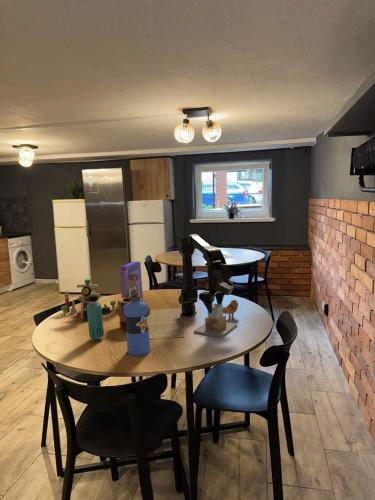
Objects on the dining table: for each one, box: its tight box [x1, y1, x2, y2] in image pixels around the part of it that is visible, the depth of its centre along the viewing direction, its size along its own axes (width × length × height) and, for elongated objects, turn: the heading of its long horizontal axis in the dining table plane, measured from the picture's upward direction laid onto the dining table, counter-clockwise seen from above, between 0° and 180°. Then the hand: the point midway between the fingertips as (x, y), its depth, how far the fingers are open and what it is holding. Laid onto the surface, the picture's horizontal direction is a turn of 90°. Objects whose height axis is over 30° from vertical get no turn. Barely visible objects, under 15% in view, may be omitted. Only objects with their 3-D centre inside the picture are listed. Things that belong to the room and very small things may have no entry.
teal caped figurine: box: [87, 295, 105, 340], centre depth 149 cm, size 6×7×20 cm
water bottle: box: [124, 290, 151, 357], centre depth 135 cm, size 9×9×25 cm
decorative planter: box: [114, 297, 151, 331], centre depth 163 cm, size 20×12×14 cm, turn 66°
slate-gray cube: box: [207, 302, 224, 319], centre depth 155 cm, size 5×5×5 cm
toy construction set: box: [61, 278, 117, 321], centre depth 187 cm, size 27×22×21 cm
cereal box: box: [118, 261, 144, 301], centre depth 202 cm, size 17×5×24 cm, turn 162°
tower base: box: [193, 314, 238, 339], centre depth 156 cm, size 14×16×6 cm
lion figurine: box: [223, 299, 239, 320], centre depth 168 cm, size 15×5×9 cm, turn 116°
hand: (215, 310), depth 155 cm, fingers open, 9 cm apart
